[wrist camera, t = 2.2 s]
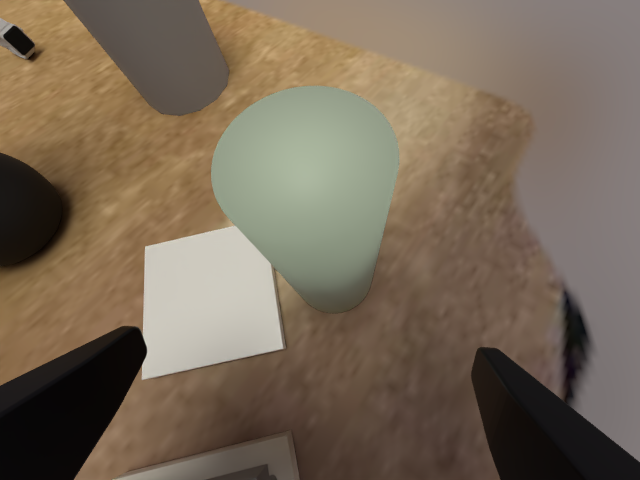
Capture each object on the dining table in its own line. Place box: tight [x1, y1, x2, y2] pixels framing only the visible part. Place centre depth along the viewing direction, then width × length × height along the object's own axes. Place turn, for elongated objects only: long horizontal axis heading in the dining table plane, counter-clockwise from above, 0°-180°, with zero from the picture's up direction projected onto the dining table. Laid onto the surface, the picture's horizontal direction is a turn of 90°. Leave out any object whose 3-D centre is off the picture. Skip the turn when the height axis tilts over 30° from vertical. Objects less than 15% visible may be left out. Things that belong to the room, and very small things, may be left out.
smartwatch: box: [0, 18, 35, 59], centre depth 31 cm, size 4×2×4 cm, turn 65°
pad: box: [142, 226, 286, 380], centre depth 20 cm, size 9×9×1 cm
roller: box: [211, 86, 399, 313], centre depth 14 cm, size 5×5×13 cm
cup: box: [64, 0, 229, 116], centre depth 24 cm, size 8×8×10 cm
